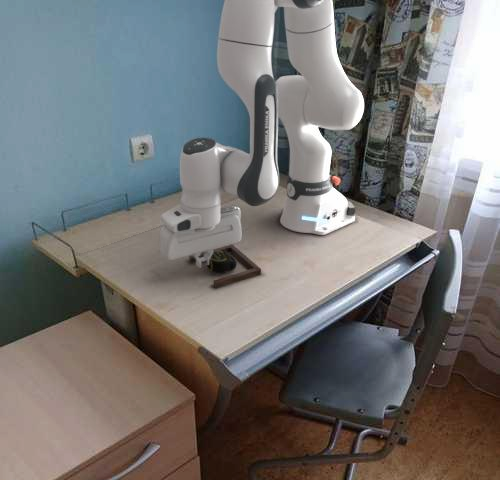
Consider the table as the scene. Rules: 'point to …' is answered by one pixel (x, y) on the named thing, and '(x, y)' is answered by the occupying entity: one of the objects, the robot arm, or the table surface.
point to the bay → (239, 276)
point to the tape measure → (221, 262)
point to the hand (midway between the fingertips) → (202, 265)
